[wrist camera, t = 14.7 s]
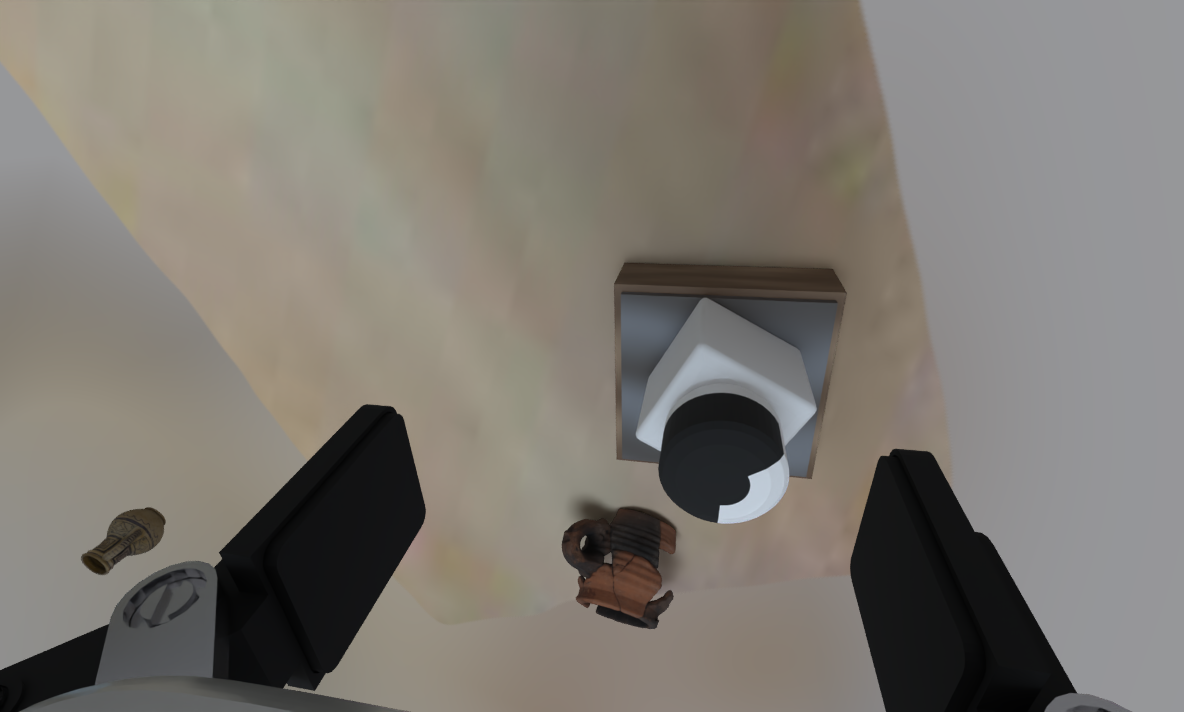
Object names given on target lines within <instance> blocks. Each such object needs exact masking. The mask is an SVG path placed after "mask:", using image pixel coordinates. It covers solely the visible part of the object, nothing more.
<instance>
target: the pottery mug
mask: <svg viewBox="0 0 1184 712" xmlns="http://www.w3.org/2000/svg"><path fill="white" fill-rule="evenodd" d="M585 535H586V536H587V538H586V540H585V545H584V546H583V547H582V550H581V549H580V542H581V539H582V538H583V537H584V536H585ZM659 549H663V550H664V551H666V552H668V553H669V554H673V553H675V549H676V531H675V530H674V529H673V528H672V527H671V526H669V525H668V524H666V523H664V522H662V521H660V520H658V519H656V518H654V517H651V516H650V515H648V514H644V513H642V512H639V511H635V510H629V509H619V510H618V512H617V515H616V517H615V518H614V519H613V522H612V523H611V524H609V523H608V521H607V520H606V519H604V518H601V519H598V520H597V521H596V520H589V519H584V520H581V521H578V522H576V523H574V524H573V525H571V526H570V527H569V529H568V530H566V531H565V532H564V537H563V541H562V552H563V555H564V557H565V559H566V561H567V562H568V563H569V564H570V565H571V566H573V567H574V568H576V569H577V570H578V571H579V574H580V575H581V576H579V578H578V584H579V587H580V590H579V594H578V596H577V597H576V600H577V602H578V603H580V604H581V605H583V606H584V607H586V608H588V607H589V605H590V603H591V604H595V605H598V607H597V610H596V613H597V614H599V615H602V616H604V617H607V618H610V619H613V620H615V621H618V622H621V623H624V624H628V625H632V626H636V627H641V628H648V629H655V628H656V627H657V625H658V622H659V620H658V616H659V615H660V614H661V613H663V612H664V611H665V610H666V609H667V608H668V607H669V604H670V602H671V601H672V600H673V593H672V591H671V590H669V591H667V592H666V593H665V595H664V596H663V597H661V598H659V599H657V600H654V601H650V600H651V599H652V598H653V596H654V595H655V594H656V593H657V592H658V590H659V589H660V588H661V586H662V585H661V582H662V578H661V575H660V573H659V572H658V571H657V568H658V562H659V558H658V557H659ZM610 552H611V553H612V564H609V563H604V556H605V555H607V554H608V553H610ZM584 577H586V580H585V578H584Z"/></svg>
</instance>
